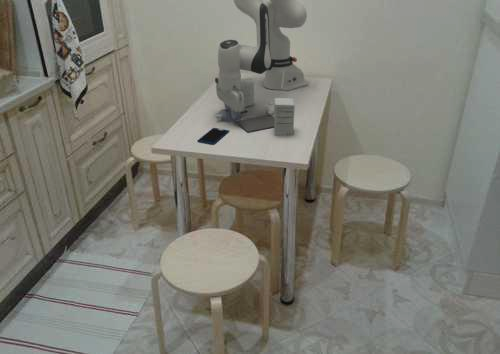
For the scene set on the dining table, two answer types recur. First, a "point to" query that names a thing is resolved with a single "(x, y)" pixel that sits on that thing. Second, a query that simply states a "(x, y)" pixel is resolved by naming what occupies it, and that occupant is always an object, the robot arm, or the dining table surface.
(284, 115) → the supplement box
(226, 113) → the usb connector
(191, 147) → the dining table surface
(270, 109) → the white connector
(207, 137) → the cell phone
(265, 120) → the rubber mat
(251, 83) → the photo printer
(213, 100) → the dining table surface
